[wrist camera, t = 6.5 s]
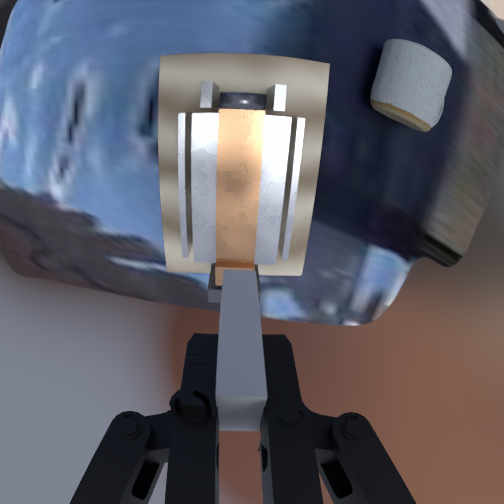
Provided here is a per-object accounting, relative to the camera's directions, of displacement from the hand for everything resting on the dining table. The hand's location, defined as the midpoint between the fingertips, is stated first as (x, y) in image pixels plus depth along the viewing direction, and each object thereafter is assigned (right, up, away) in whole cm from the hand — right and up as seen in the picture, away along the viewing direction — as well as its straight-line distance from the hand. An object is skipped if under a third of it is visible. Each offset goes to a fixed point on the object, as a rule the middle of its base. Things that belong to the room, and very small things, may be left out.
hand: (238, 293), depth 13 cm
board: (-1, +11, +15) cm, 18 cm away
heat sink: (-1, +9, +14) cm, 16 cm away
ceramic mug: (+18, +20, +11) cm, 29 cm away
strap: (-1, +7, +10) cm, 12 cm away
